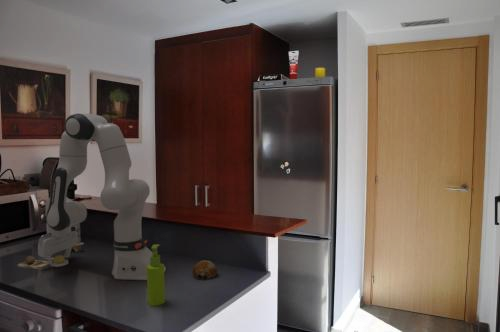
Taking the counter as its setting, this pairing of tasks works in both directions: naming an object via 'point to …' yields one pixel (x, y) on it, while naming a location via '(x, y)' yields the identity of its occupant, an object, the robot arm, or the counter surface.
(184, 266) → the counter surface
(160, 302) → the soap dispenser
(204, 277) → the bread roll
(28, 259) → the walnut ball
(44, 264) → the twin rack
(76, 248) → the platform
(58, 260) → the mustard ball
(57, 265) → the white bowl
